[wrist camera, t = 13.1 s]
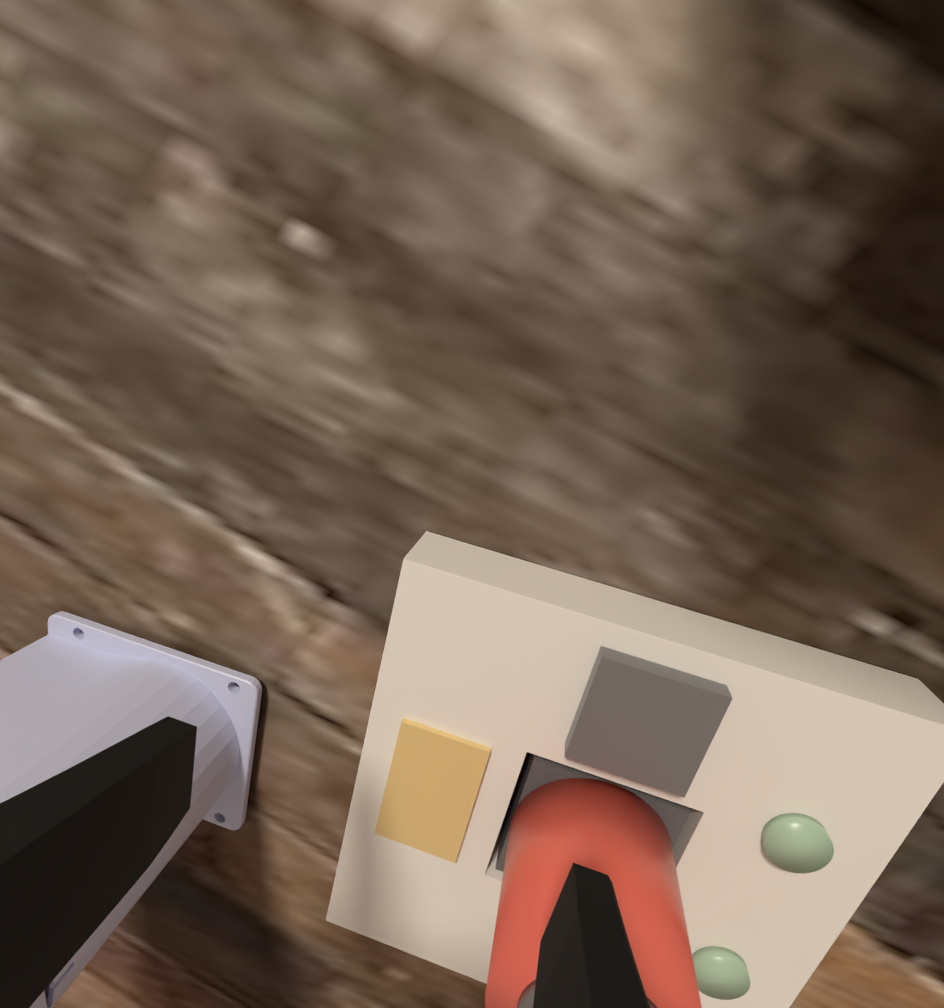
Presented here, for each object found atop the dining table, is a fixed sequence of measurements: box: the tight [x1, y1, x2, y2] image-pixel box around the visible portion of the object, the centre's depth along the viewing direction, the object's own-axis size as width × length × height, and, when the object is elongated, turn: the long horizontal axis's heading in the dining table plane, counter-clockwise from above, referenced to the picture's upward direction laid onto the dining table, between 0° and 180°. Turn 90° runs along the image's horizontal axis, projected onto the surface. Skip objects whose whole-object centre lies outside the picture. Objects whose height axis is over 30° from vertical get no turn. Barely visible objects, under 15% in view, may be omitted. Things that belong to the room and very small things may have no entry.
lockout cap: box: [485, 778, 702, 1008], centre depth 15 cm, size 5×5×5 cm
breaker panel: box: [326, 531, 944, 1008], centre depth 18 cm, size 16×16×3 cm
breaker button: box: [495, 752, 690, 872], centre depth 19 cm, size 5×5×2 cm
